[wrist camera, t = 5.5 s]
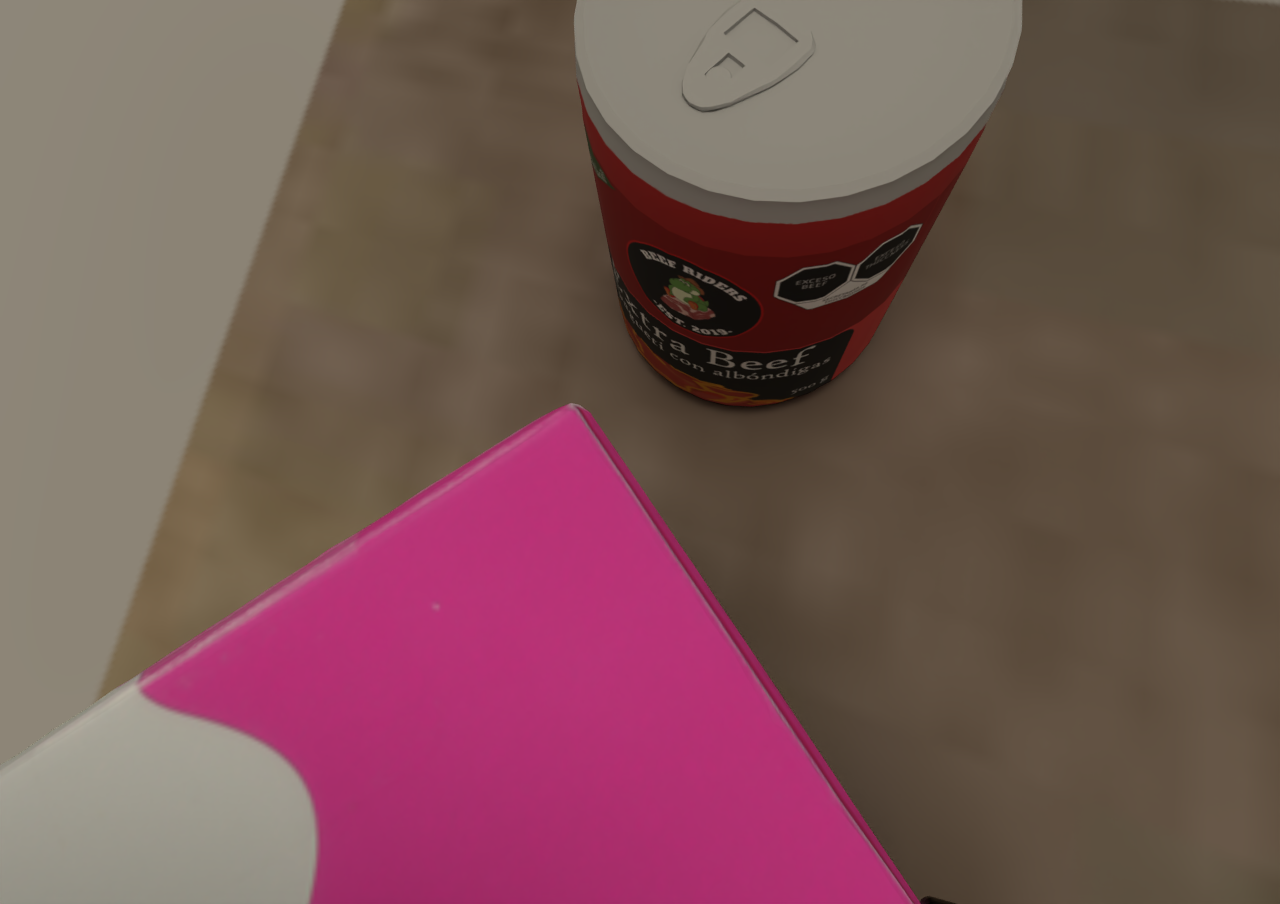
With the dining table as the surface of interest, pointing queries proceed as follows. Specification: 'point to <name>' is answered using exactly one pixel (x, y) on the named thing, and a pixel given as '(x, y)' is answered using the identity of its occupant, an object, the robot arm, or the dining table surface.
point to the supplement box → (454, 726)
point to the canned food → (777, 170)
